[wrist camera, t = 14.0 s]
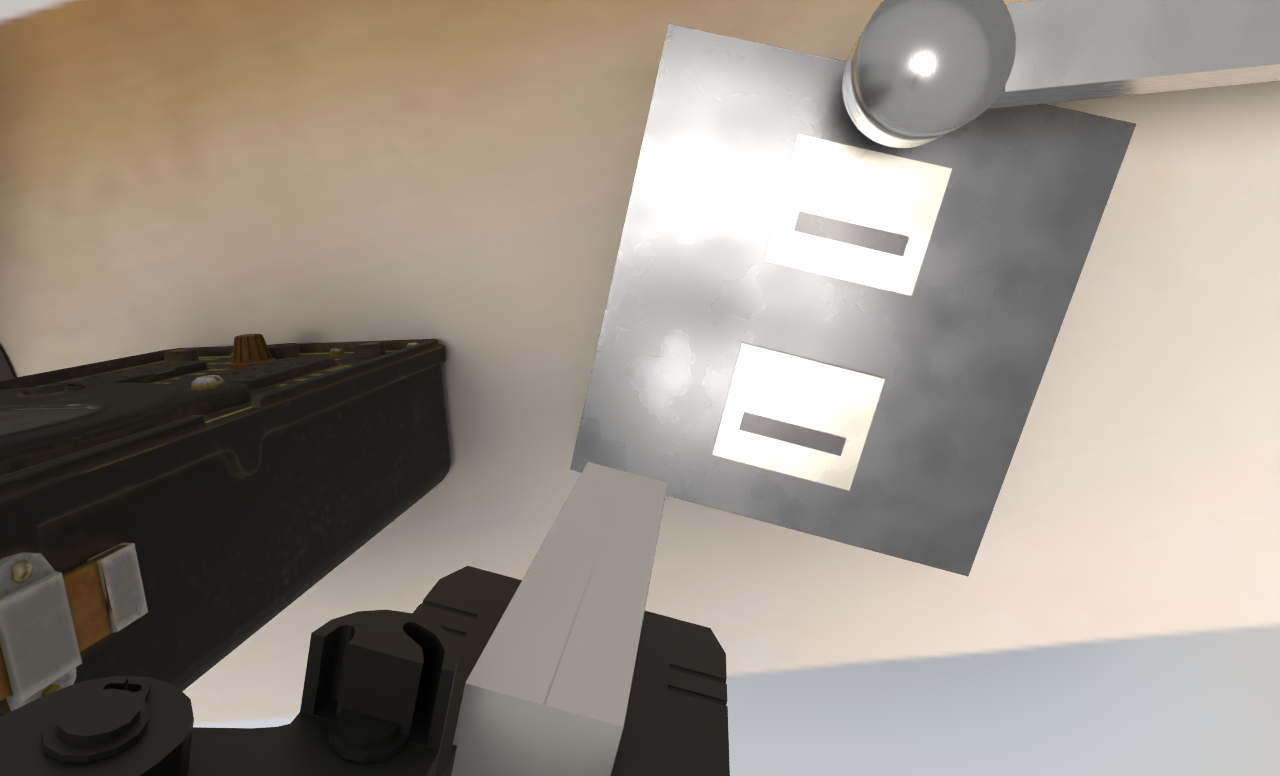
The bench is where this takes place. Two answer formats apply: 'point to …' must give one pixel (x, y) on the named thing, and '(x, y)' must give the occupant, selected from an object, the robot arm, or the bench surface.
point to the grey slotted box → (837, 300)
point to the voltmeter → (197, 497)
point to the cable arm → (1044, 56)
